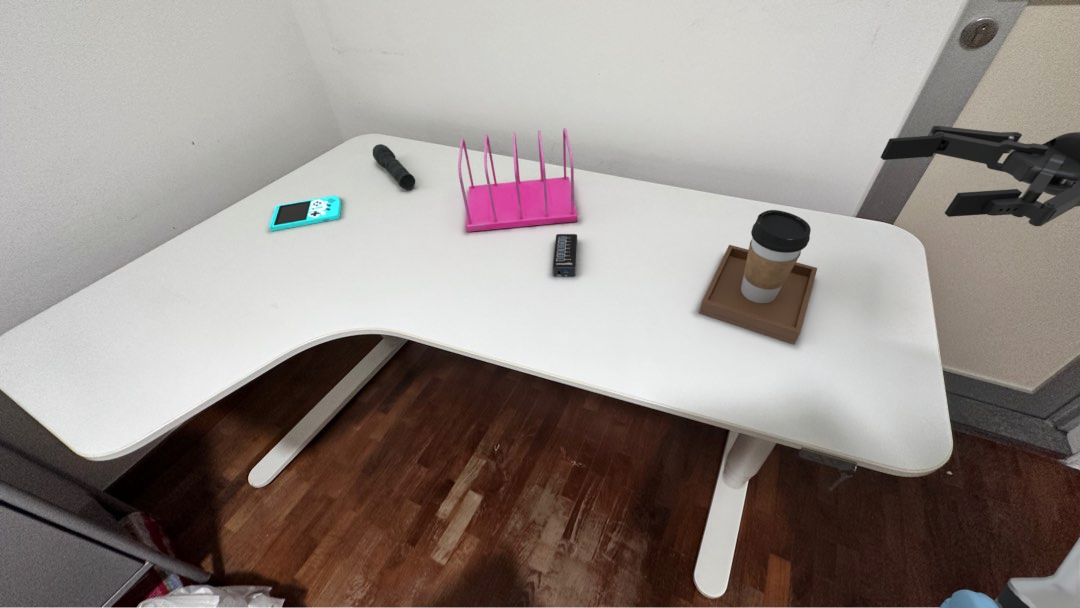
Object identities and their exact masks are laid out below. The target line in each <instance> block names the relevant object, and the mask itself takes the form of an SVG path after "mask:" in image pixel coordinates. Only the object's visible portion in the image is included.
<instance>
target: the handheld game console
mask: <svg viewBox="0 0 1080 608" xmlns="http://www.w3.org/2000/svg"><path fill="white" fill-rule="evenodd" d="M341 211H342V201H341V199H340V197H338V196H337V195H329V196H322V197H318V198H312V199H305V200H301V201H295V202H289V203H284V204H279V205H277V204H276V205H275V207H274V210H273V213H272V215H271V220H270V223H269V226H268V228H269V230H270V231H271V232H276V231H280V230H286V229H291V228H297V227H302V226H308V225H313V224H320V223H324V222H330V221H335V220H340V218H341Z"/></svg>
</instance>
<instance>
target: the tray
mask: <svg viewBox="0 0 1080 608" xmlns="http://www.w3.org/2000/svg"><path fill="white" fill-rule="evenodd" d="M748 251H749V248H748V249H747V248H744V247H739V246H736V245H732V244H728V246H727V248H726V250H725V253H724V254H723V256H722V258H721V260H720V263H719V265H718V267H717V269H716V271H715V273H714V275H713V278H712V280H711V281H710V283H709V285H708V288H707V289H706V291H705V294H704V296H703V297H702V300H701V303H700V305H699V311H698V314H700V315H704V316H706V317H709V318H712V319H715V320H718V321H721V322H725V323H727V324H730V325H733V326H736V327H739V328H743V329H745V330H748V331H752V332H754V333H757V334H760V335H762V336H763V335H764V336H766V337H770V338H773V339H776V340H778V341H782V342H784V343H787V344H791V345H795V344H796V342H797V340H798V338H799V336H800V334H801V333H802V332H801V331H802V328H803V325H804V321H805V316H806V313H807V309H808V306H809V302H810V298H811V295H812V290H813V286H814V282H815V279H816V276H817V271H818V267H816V266H812V265H809V264H805V263H801V262H798V261H796V263H795V265H794V267H793V268H792V270H791V272H790V274H789V275H788V277H787V279H786V280H785V282H784V284H783V285H782V287H781V289H780V291H779V293H778V294H777V296H776V298H775V299H774V300H773V301H772V302H769V303H756V302H753V301H750V300H748V299H747V298H746V297H745V296H744V295H743V294H742V292H741V286H742V281H743V277H744V271H745V266H746V261H747V256H748Z"/></svg>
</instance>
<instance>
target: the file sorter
mask: <svg viewBox="0 0 1080 608" xmlns="http://www.w3.org/2000/svg"><path fill="white" fill-rule="evenodd" d="M537 138H538V139H537V141H538V154H539V155H538V157H539V171H540V172H539V173H540V179H531V180H521V177H520V167H519V166H520V165H519V156H518V147H517V146H518V145H517V135H516V132H512V150H513V151H512V153H513V168H514V169H513V171H514V179H515V181H509V182H499V183H497V178H496V171H495V166H494V165H495V164H494V160H493V155H492V149H491V143H490V138H489V135H488V134H485V135H484V151H483V164H484V165H483V166H484V174H485V179H486V184H479V185H478V184H477V185H474V179H473V175H472V170H471V165H470V159H469V154H468V149H467V144H466V141H465V139H464V138H461V139H460V142H459V143H460V144H459V152H458V160H457V161H458V162H457V170H458V171H457V172H458V179H459V183H460V189H461V195H462V199H463V203H464V207H465V212H466V214H465V215H466V217H465V230H466V232H468V233H471V232H478V231H479V232H480V231H489V230H499V229H510V228H521V227H531V226H532V227H533V226H540V225H541V226H542V225H552V224H564V223H575V222H578V221H579V220H578V219H579V218H578V211H577V207H576V202H575V180H574V179H575V175H574V173H575V170H574V157H573V151H572V146H571V143H570V138H569V134H568V129H567V128H566V127H564V128H563V129H562V151H563V153H562V154H563V176H561V177H552V178H547V175H546V164H545V153H544V146H543V140H542V133H541V130H537ZM566 145H567V148H566ZM566 150H568V154H569V162H570V177H569V176H567V151H566ZM463 151H464V155H465V156H464V157H465V161H466V166H467V171H468V176H469V181H470V186H468V193H467V195H466V191H465V186H464V181H463V175H462V158H463ZM488 155H489V161H490V166H491V171H492V179H493V183H491V181H490V175H489V169H488ZM466 196H467V197H466Z"/></svg>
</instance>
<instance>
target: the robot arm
mask: <svg viewBox="0 0 1080 608" xmlns="http://www.w3.org/2000/svg"><path fill="white" fill-rule="evenodd" d="M1022 136H1023V134H1022V133H1021V132H1018V131H1008V132H1007V131H990V130H980V129H971V128H964V127H963V128H962V127H961V128H960V127H952V126H945V125H933V126H932V127H931V129H930V131H929V132H928V133H927V135H922V136H920V135H919V136H905V137H893V138H892V137H891V138H889V139H888V141H887V142H886V145H885V147H884V148H883V151H882V153H881V154H880V159H881V160H883V161H889V160H903V159H904V160H905V159H918V158H932V157H934V154H936V155H941V156H946V157H951V158H955V159H960V160H964V161H969V162H974V163H978V164H984V165H986V167H987V169H989V170H994V171H998V172H1002V173H1006V174H1008V175H1011V176H1012V177H1013V179H1015V180H1016V181H1017V182H1020V183H1021V182H1022V183H1024V184H1028V186H1027V188H1026V190H1025V191H1024V192H1023V191H1021V190H1019V188H1011V189H996V190H981V191H965V192H964V191H963V192H957V193H956V195H955V196H954V198H953V199H952V200H951V201H950V204H949V206H948V207H947V208H946V210H945V211H944V215H946V217H948V218H952V217H953V218H954V217H967V216H983V215H987V216H993V217H994V216H995V217H996V216H1009V215H1011V216H1013V217H1015V218H1023V217H1025V218H1027V219H1029V220H1028V221H1027V222H1028V223H1029V224H1030V225H1031V226H1034V227H1042V226H1044V225H1046V224H1048V223H1049V222H1051V221H1054V220H1055V219H1056V218H1058V217H1060V216H1061V215H1063V214H1065V213H1067V212H1068V211H1070V210H1072V209H1074V208H1076V207H1080V131H1074V132H1067V133H1064V134H1061V135H1058V136H1056V137H1053V138H1052V139H1050V140H1049V141H1047V142H1044V143H1042V144H1041V143H1036V142H1035V143H1034V142H1032V143H1024V142H1023V143H1022V142H1021V141H1020V139H1021V138H1022ZM1004 154H1007V156H1006V158H1005V159H1004V160H1003V161H1002V162H1000V160H1001V158H1002V157H1003V156H1004ZM1043 193H1045V194H1046V195H1050V196H1053V197H1051V198H1049V199H1047V200H1045V201H1044V202H1041V201H1039V198H1040V197H1041V196H1042V195H1043ZM939 608H1080V537H1078V539H1077V541H1076V542H1075V543H1074V545H1073V546H1072V548H1071V549H1070V550H1069V552H1068V554H1067V555H1066V556H1065V558H1064V559H1063V561H1062V563H1061V564H1060V565H1059V566H1058V568H1057V569H1056V570H1055V572H1054V573H1053V575H1048V576H1042V577H1010V578H1009V580H1008V581H1007V582H1006V584H1005V585H1004V587H1003V588H1002V590H1001V591H1000V593H999V594H998V596H997V597H996V598H995V599H992V598H991V597H989V596H988V595H987V594H985V593H982V592H975V591H973V590H970V589H960V590H957V591H955V592H953V593H952V595H951V597H948V598H946V599H945V600H944V601H943V602H942V603H941V604H940V606H939Z"/></svg>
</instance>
